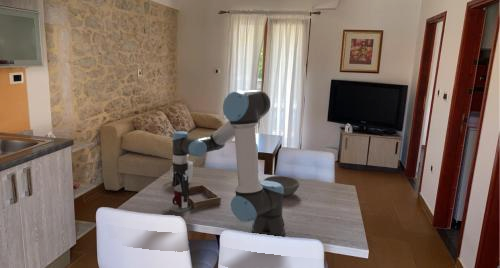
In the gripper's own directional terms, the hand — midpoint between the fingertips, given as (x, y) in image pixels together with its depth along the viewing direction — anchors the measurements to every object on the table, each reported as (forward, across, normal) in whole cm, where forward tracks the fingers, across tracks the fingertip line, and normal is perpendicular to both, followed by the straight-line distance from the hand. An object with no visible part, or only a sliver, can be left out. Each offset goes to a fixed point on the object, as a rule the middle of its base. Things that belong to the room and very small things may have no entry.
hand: (180, 203), depth 184 cm
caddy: (+2, +6, -13) cm, 14 cm away
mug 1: (+3, +34, -15) cm, 38 cm away
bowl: (+3, -8, -58) cm, 59 cm away
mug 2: (+2, +1, 0) cm, 2 cm away
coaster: (+2, 0, 0) cm, 2 cm away
